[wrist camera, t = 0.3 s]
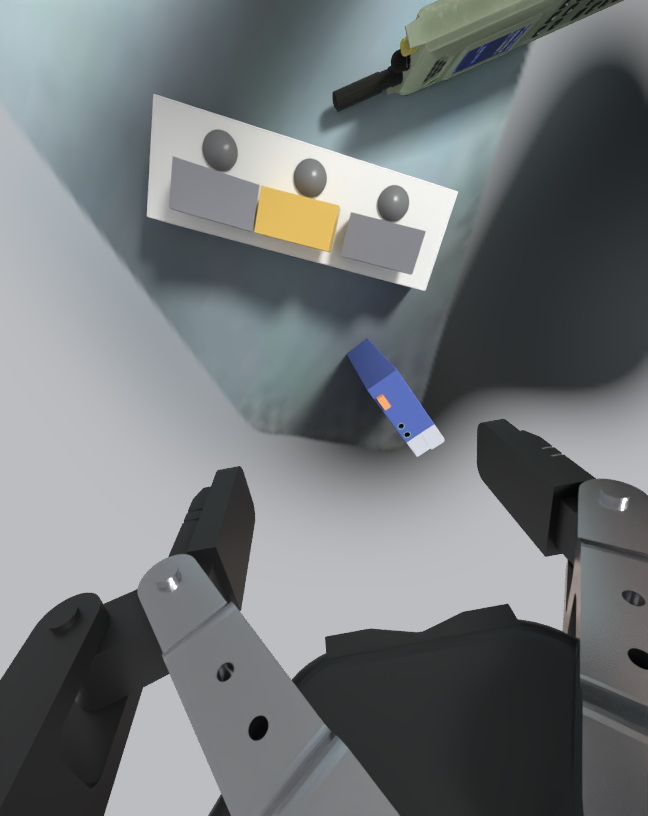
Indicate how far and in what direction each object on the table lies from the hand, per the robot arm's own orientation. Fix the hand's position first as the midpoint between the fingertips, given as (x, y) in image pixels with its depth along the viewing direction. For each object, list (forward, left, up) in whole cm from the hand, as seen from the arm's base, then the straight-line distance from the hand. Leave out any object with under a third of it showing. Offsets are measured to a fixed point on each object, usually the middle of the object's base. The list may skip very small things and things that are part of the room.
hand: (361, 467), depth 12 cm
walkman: (+3, +8, -27) cm, 28 cm away
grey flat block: (-9, -11, -23) cm, 26 cm away
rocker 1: (-9, -4, -23) cm, 24 cm away
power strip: (-10, -4, -27) cm, 29 cm away
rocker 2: (-9, +3, -23) cm, 24 cm away
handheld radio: (-25, +7, -27) cm, 38 cm away
